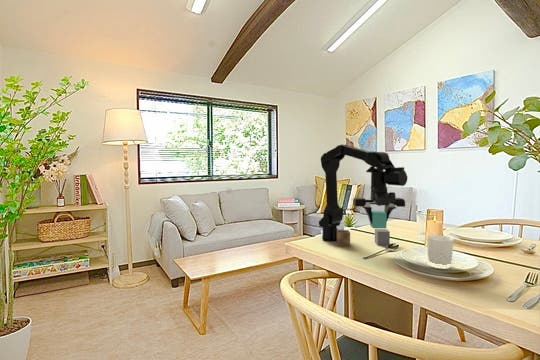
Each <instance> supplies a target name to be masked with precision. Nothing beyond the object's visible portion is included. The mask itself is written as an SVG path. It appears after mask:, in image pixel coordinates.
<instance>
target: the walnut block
mask: <svg viewBox="0 0 540 360" xmlns="http://www.w3.org/2000/svg"><path fill="white" fill-rule="evenodd" d="M336 245H337V247H341V248H347V247H348V248H350V247H351V232H350V230H349V229H344V230H343V229H338V230H337V241H336Z"/></svg>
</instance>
